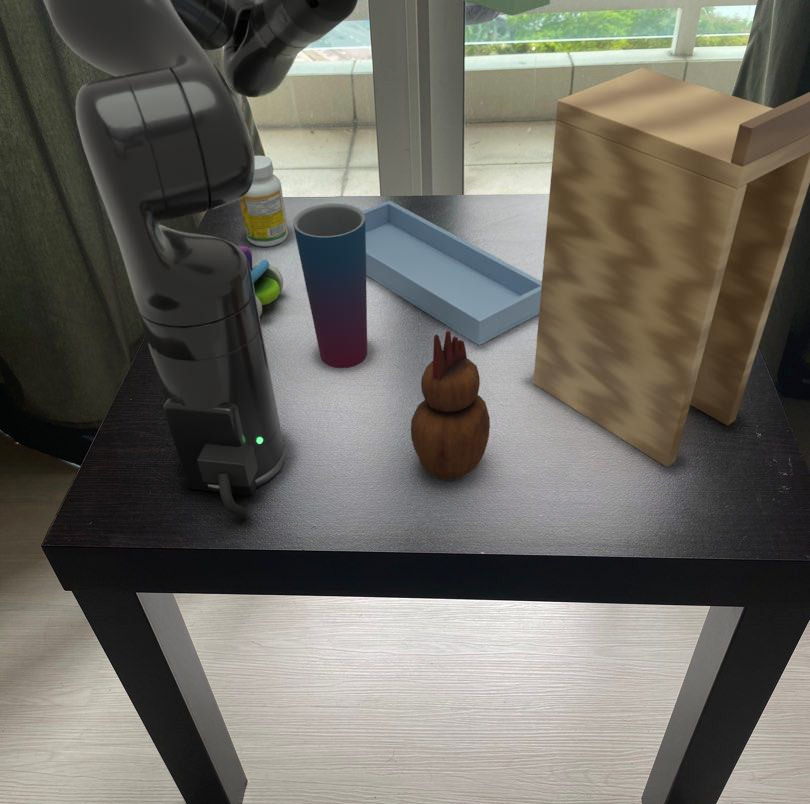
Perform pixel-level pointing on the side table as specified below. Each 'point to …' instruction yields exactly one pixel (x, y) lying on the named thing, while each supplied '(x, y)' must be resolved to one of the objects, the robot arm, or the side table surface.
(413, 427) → the wooden figurine
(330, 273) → the cup
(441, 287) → the tray
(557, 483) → the side table surface
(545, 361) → the stand
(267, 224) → the supplement bottle
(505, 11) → the long sage green bar
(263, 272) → the multicolored plastic toy
